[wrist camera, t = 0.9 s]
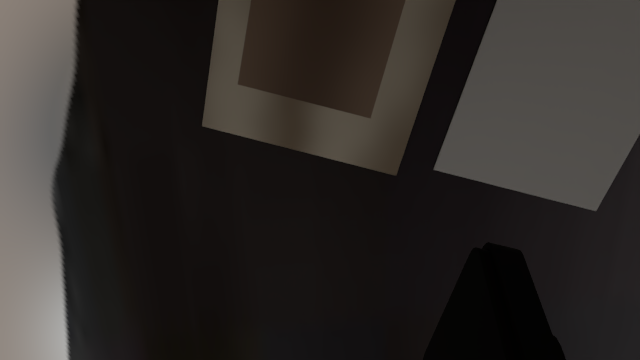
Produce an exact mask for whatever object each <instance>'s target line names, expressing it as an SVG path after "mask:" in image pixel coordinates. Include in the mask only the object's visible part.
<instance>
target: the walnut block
mask: <svg viewBox="0 0 640 360" xmlns="http://www.w3.org/2000/svg"><path fill="white" fill-rule="evenodd" d="M404 4H405V0H251V4H250V11H249V17H248V23H247V29H246V35H245V42H244V48H243V54H242V60H241V67H240V73H239V79H238V85H242V86H246V87H250V88H253V89H257V90H261V91H265V92H269V93H273V94H277V95H281V96H285V97H289V98H292V99H296V100H300V101H304V102H308V103H312V104H316V105H320V106H324V107H328V108H331V109H335V110H339V111H343V112H347V113H351V114H355V115H359V116H363V117H367V118H370V119H371V115H372V112H373V108H374V105H375V102H376V98H377V95H378V91H379V88H380V85H381V81H382V78H383V75H384V71H385V68H386V64H387V61H388V58H389V54H390V51H391V48H392V44H393V41H394V37H395V34H396V31H397V27H398V24H399V20H400V17H401V14H402V10H403V7H404Z"/></svg>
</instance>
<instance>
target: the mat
mask: <svg viewBox="0 0 640 360" xmlns="http://www.w3.org/2000/svg"><path fill="white" fill-rule="evenodd" d="M639 134H640V0H497V1H496V3H495V6H494V9H493V11H492V14H491V17H490V19H489V22H488V25H487V27H486V30H485V33H484V35H483V38H482V41H481V43H480V46H479V49H478V51H477V54H476V57H475V59H474V62H473V65H472V67H471V70H470V73H469V75H468V78H467V81H466V83H465V86H464V89H463V91H462V94H461V97H460V99H459V102H458V105H457V107H456V110H455V113H454V115H453V118H452V121H451V123H450V126H449V129H448V131H447V134H446V137H445V139H444V142H443V144H442V147H441V150H440V152H439V155H438V158H437V160H436V163H435V166H434V168H433V169H434V170H437V171H441V172H445V173H449V174H453V175H457V176H460V177H464V178H468V179H472V180H476V181H480V182H484V183H488V184H492V185H496V186H500V187H503V188H507V189H511V190H515V191H519V192H523V193H527V194H531V195H535V196H539V197H543V198H547V199H550V200H554V201H558V202H562V203H566V204H570V205H574V206H578V207H582V208H586V209H590V210H593V211H596V210H597V208H598V207H599V205H600V203H601V201H602V200H603V198H604V196H605V194H606V193H607V191H608V189H609V187H610V185H611V184H612V182H613V180H614V178H615V177H616V175H617V173H618V171H619V170H620V168H621V166H622V164H623V163H624V161H625V159H626V157H627V156H628V154H629V152H630V150H631V148H632V147H633V145H634V143H635V141H636V140H637V138H638V136H639Z"/></svg>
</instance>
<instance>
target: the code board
mask: <svg viewBox="0 0 640 360" xmlns="http://www.w3.org/2000/svg"><path fill="white" fill-rule="evenodd" d="M455 1H456V0H405V4H404V7H403V10H402V14H401V17H400V20H399V24H398V27H397V31H396V34H395V37H394V41H393V44H392V48H391V51H390V54H389V58H388V61H387V64H386V68H385V71H384V75H383V78H382V81H381V85H380V88H379V91H378V95H377V98H376V102H375V105H374V108H373V112H372V115H371V119H370V118H367V117H363V116H359V115H355V114H351V113H347V112H343V111H339V110H335V109H331V108H328V107H324V106H320V105H316V104H312V103H308V102H304V101H300V100H296V99H292V98H289V97H285V96H281V95H277V94H273V93H269V92H265V91H261V90H257V89H253V88H250V87H246V86H242V85H238V79H239V73H240V67H241V60H242V54H243V48H244V42H245V35H246V29H247V23H248V17H249V11H250V4H251V0H219V2H218V9H217V17H216V25H215V32H214V40H213V47H212V55H211V62H210V70H209V78H208V85H207V93H206V100H205V108H204V115H203V123H202V126H204V127H208V128H212V129H215V130H219V131H223V132H227V133H231V134H235V135H239V136H243V137H247V138H251V139H255V140H259V141H262V142H266V143H270V144H274V145H278V146H282V147H286V148H290V149H294V150H298V151H302V152H306V153H309V154H313V155H317V156H321V157H325V158H329V159H333V160H337V161H341V162H345V163H349V164H353V165H357V166H360V167H364V168H368V169H372V170H376V171H380V172H384V173H388V174H392V175H396V174H397V171H398V168H399V165H400V162H401V160H402V157H403V154H404V151H405V148H406V145H407V142H408V139H409V136H410V133H411V130H412V127H413V124H414V121H415V118H416V115H417V112H418V110H419V107H420V104H421V101H422V98H423V95H424V92H425V89H426V86H427V83H428V80H429V77H430V74H431V71H432V68H433V65H434V62H435V59H436V57H437V54H438V51H439V48H440V45H441V42H442V39H443V36H444V33H445V30H446V27H447V24H448V21H449V18H450V15H451V12H452V9H453V6H454V4H455Z"/></svg>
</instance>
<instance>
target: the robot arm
mask: <svg viewBox="0 0 640 360" xmlns="http://www.w3.org/2000/svg"><path fill="white" fill-rule="evenodd" d="M423 360H566V359H565V356H564V353H563V351H562V348H561V345H560V343H559V342H558V340H557V338H556V337H555V336H553V335H552V332H551V330H550V327H549V324H548V321H547V319H546V316H545V313H544V310H543V308H542V305H541V302H540V300H539V297H538V294H537V291H536V289H535V286H534V283H533V280H532V278H531V275H530V272H529V270H528V267H527V264H526V261H525V259H524V256H523V254H522V252H521V251H520V250H518V249H514V248H510V247H506V246H502V245H498V244H493V243H486V244H485V245H484V246H483V248H482V249H480V248H473V250H472V251H471V253H470V254H469V257H468V259H467V261H466V263H465V265H464V268H463V270H462V272H461V274H460V277H459V279H458V281H457V283H456V285H455V288H454V290H453V292H452V294H451V296H450V299H449V301H448V303H447V305H446V307H445V310H444V312H443V314H442V316H441V318H440V321H439V323H438V325H437V327H436V330H435V332H434V334H433V336H432V338H431V341H430V343H429V345H428V347H427V349H426V352H425V354H424V358H423Z"/></svg>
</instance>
